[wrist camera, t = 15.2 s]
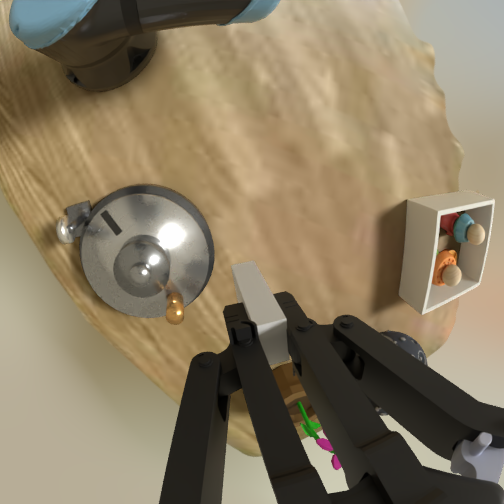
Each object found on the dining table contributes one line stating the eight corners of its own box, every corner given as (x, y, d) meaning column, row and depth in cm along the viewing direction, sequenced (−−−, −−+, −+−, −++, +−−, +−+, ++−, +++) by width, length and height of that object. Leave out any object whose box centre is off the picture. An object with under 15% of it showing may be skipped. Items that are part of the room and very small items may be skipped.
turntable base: (67, 203, 37) (63, 206, 35) (199, 169, 40) (200, 171, 38) (108, 319, 46) (106, 325, 44) (224, 296, 49) (225, 302, 47)
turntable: (62, 245, 37) (45, 262, 31) (156, 164, 36) (150, 169, 31) (139, 331, 46) (135, 355, 40) (232, 269, 45) (240, 289, 39)
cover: (110, 267, 39) (101, 284, 34) (135, 224, 37) (127, 236, 32) (154, 293, 42) (151, 313, 37) (181, 253, 41) (180, 269, 35)
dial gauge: (68, 206, 37) (49, 219, 30) (89, 200, 38) (71, 211, 31) (76, 235, 39) (59, 252, 32) (97, 229, 40) (82, 246, 33)
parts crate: (407, 199, 50) (437, 211, 42) (468, 190, 54) (494, 199, 46) (398, 295, 60) (421, 315, 51) (457, 270, 63) (479, 284, 55)
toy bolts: (440, 282, 63) (472, 304, 51) (406, 268, 57) (442, 294, 46) (467, 221, 58) (502, 238, 46) (436, 196, 52) (478, 211, 41)
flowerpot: (326, 365, 63) (386, 462, 36) (288, 401, 65) (330, 497, 38) (285, 347, 57) (345, 467, 30) (244, 388, 60) (280, 503, 32)
